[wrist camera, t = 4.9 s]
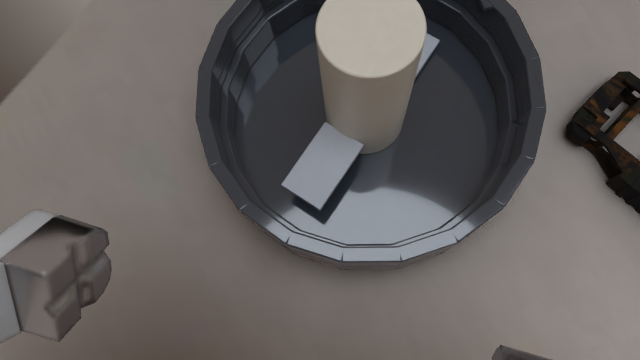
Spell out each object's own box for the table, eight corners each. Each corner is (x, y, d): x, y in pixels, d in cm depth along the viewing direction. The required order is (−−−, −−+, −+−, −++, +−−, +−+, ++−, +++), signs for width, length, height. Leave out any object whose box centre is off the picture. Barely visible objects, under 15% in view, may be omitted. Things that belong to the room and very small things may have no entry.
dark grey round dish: (334, 336, 22) (330, 341, 18) (166, 98, 26) (134, 60, 22) (577, 149, 24) (622, 117, 20) (389, -52, 27) (395, -113, 23)
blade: (337, 227, 23) (329, 184, 15) (272, 185, 23) (233, 123, 16) (452, 54, 25) (498, -65, 17) (389, 19, 25) (405, -110, 17)
